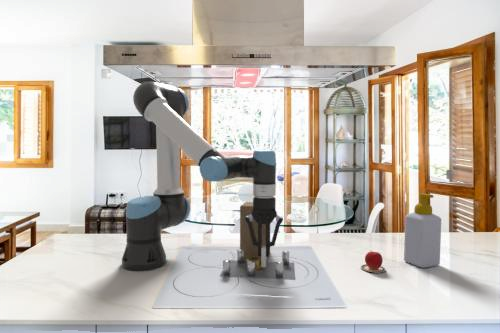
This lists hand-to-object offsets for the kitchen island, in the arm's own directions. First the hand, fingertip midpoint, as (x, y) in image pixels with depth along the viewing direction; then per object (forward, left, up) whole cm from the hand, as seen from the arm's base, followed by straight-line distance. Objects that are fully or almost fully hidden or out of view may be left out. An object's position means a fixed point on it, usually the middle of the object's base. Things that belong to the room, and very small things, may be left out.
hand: (263, 265), depth 120 cm
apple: (+37, +5, -2) cm, 38 cm away
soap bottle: (+56, +13, -2) cm, 57 cm away
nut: (-3, 0, -1) cm, 3 cm away
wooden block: (-4, +15, -2) cm, 16 cm away
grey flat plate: (-2, 0, -2) cm, 2 cm away
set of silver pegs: (-2, 0, -2) cm, 2 cm away
